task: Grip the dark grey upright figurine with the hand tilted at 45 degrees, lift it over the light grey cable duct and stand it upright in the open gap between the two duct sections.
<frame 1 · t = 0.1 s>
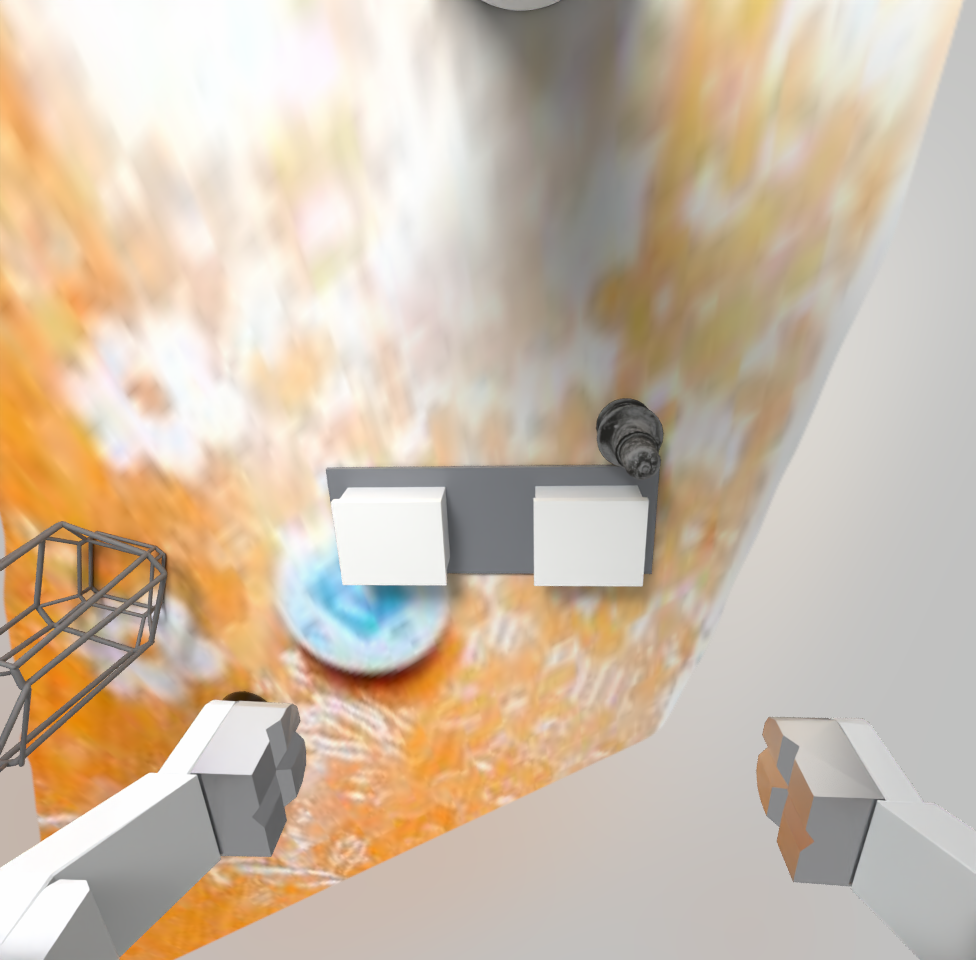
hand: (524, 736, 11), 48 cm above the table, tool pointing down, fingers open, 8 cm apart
dark grey upright figurine: (624, 424, 58), on the table
cable duct: (491, 520, 62), on the table
geometric lantern: (126, 561, 67), on the table
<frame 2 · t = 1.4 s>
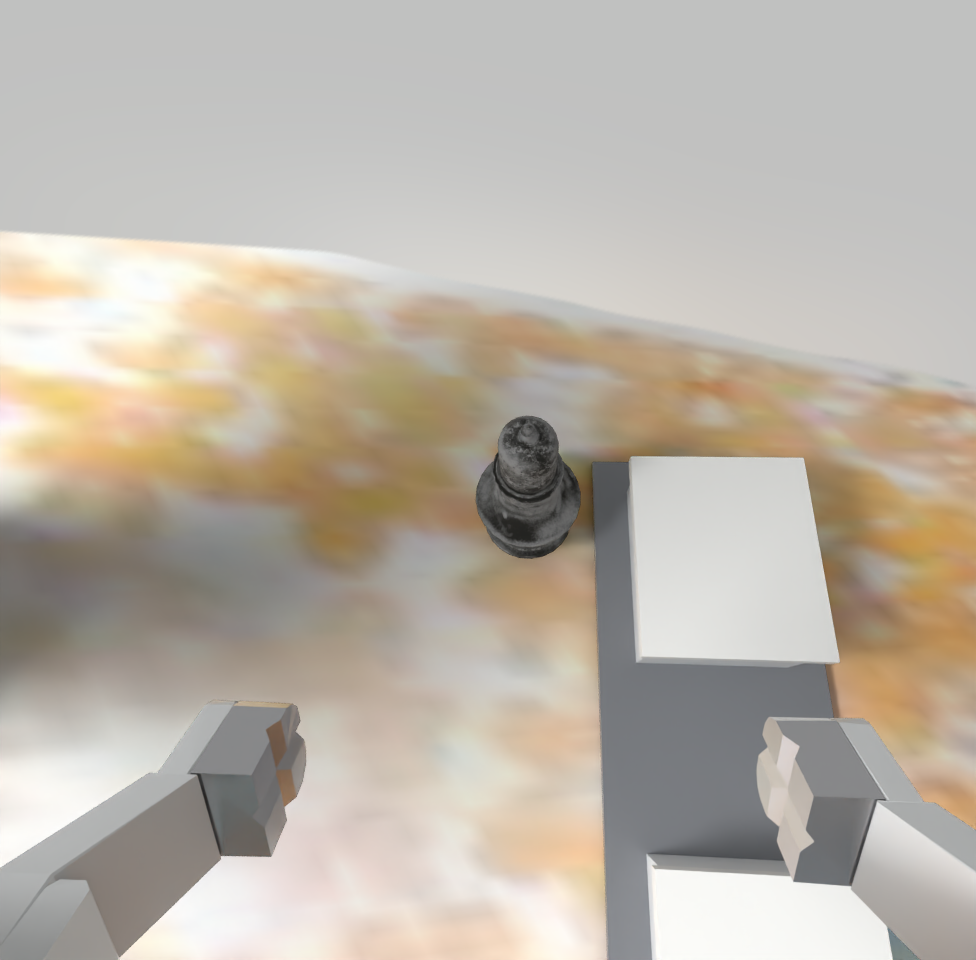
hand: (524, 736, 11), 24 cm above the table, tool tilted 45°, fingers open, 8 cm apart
dark grey upright figurine: (527, 517, 37), on the table
cable duct: (717, 755, 32), on the table
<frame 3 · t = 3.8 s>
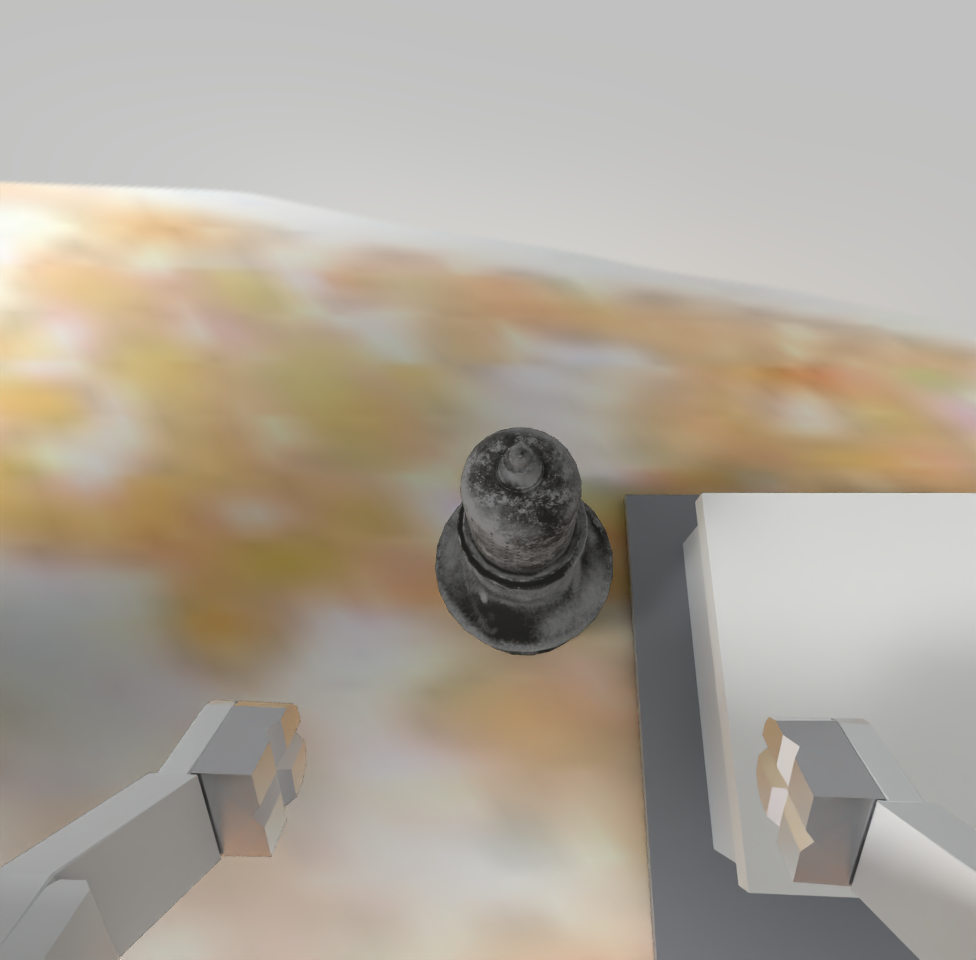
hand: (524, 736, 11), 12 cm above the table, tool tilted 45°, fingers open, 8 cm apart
dark grey upright figurine: (524, 585, 23), on the table
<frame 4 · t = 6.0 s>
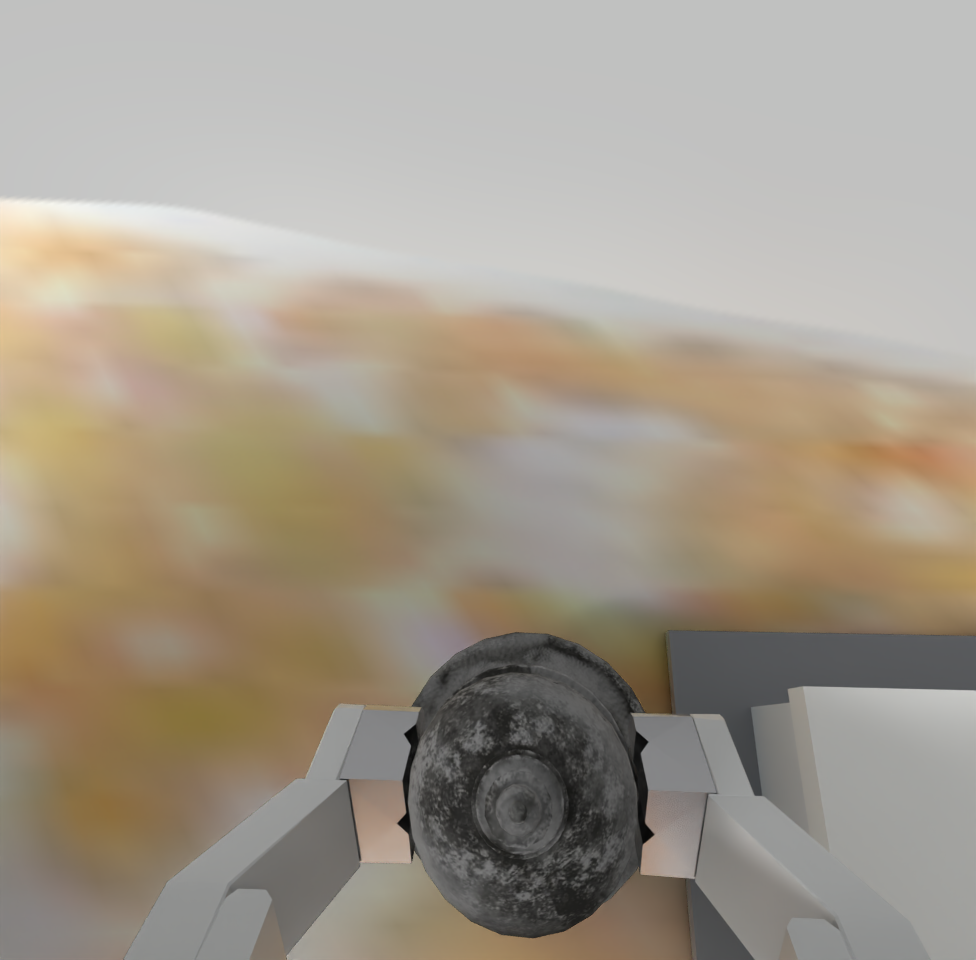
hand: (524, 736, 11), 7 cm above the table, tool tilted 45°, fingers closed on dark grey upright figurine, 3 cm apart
dark grey upright figurine: (528, 760, 17), on the table, touching gripper
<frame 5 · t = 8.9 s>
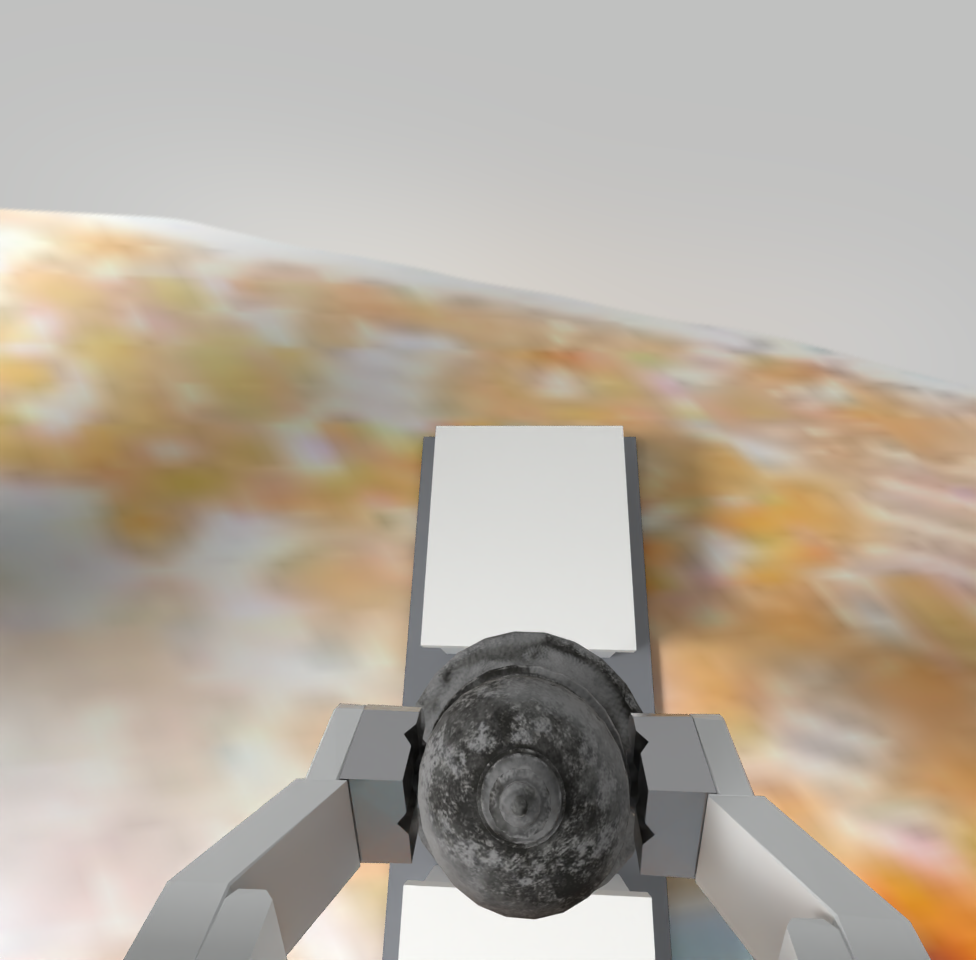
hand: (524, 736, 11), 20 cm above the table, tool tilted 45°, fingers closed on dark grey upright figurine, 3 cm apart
dark grey upright figurine: (528, 752, 18), point 12 cm above the table, touching gripper
cable duct: (526, 755, 29), on the table
when the fingers open (9 cm above the table, at t = 11.8 s): dark grey upright figurine stays where it is, resting on cable duct.
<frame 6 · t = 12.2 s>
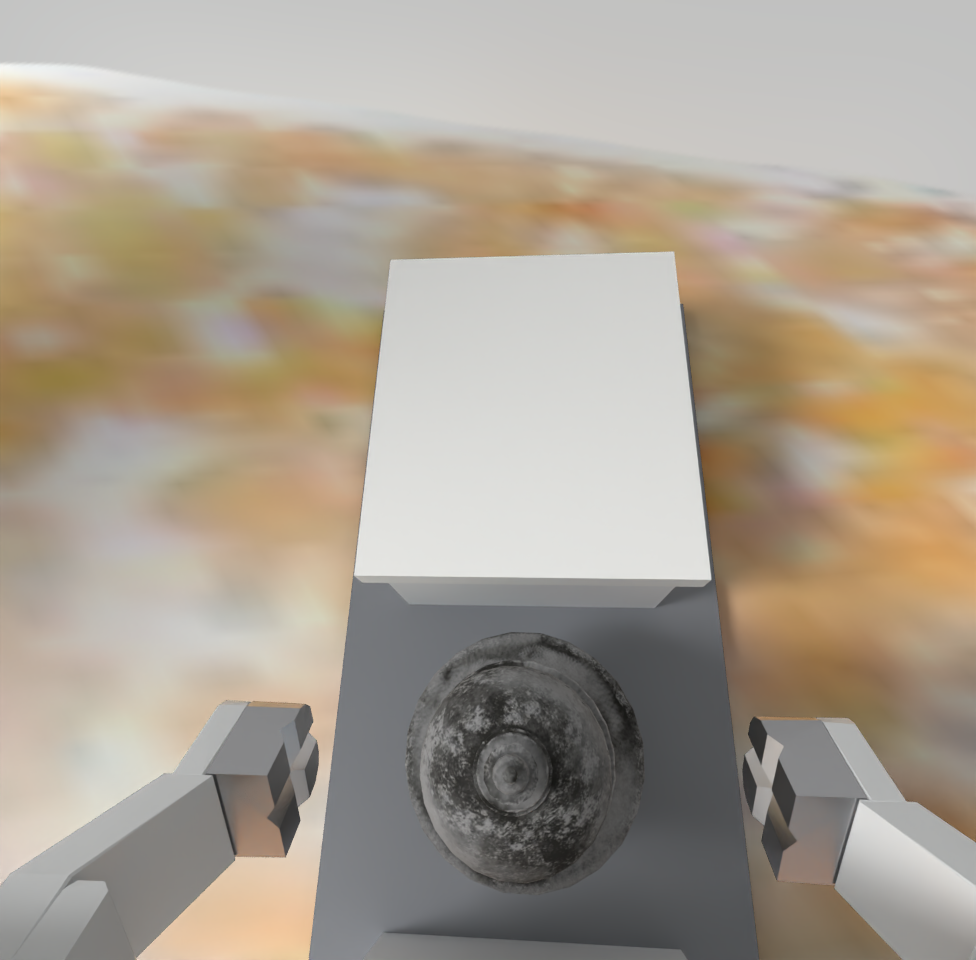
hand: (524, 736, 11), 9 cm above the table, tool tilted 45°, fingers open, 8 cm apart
dark grey upright figurine: (525, 749, 18), resting on cable duct
cable duct: (529, 756, 19), on the table
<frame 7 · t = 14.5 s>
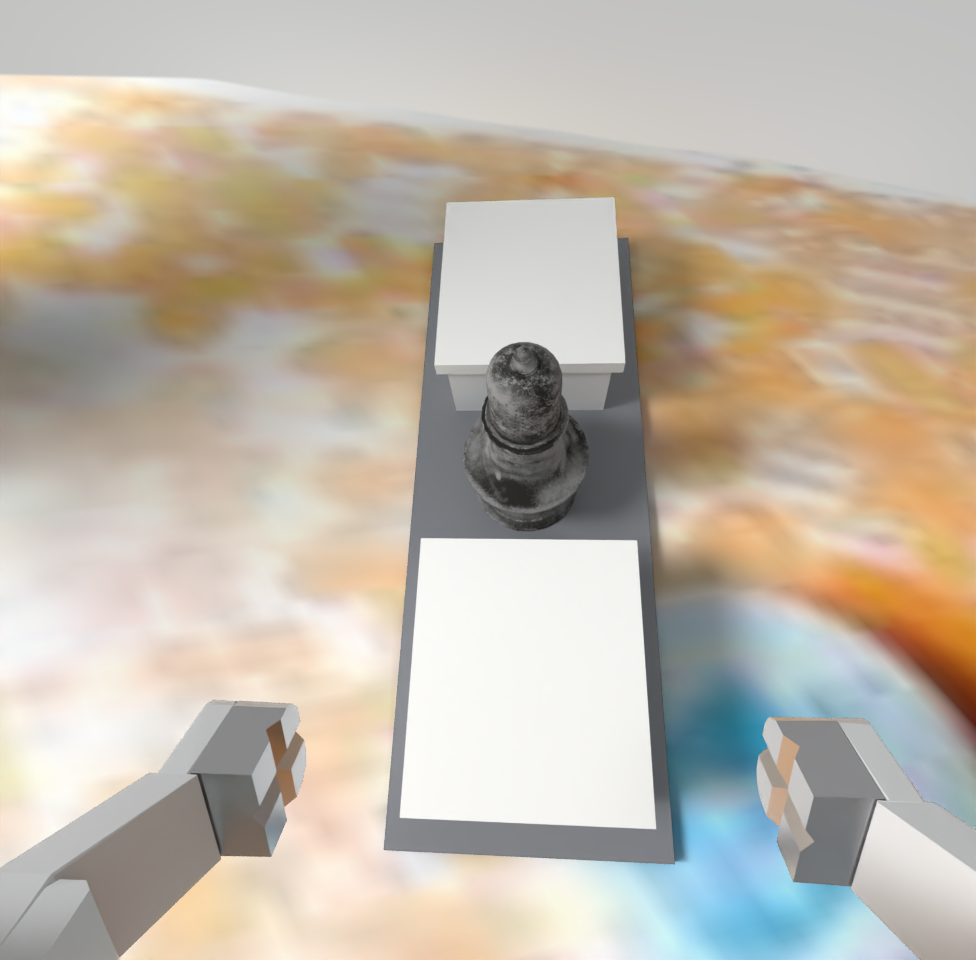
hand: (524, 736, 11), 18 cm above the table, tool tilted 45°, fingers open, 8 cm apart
dark grey upright figurine: (526, 484, 32), resting on cable duct
cable duct: (528, 490, 32), on the table
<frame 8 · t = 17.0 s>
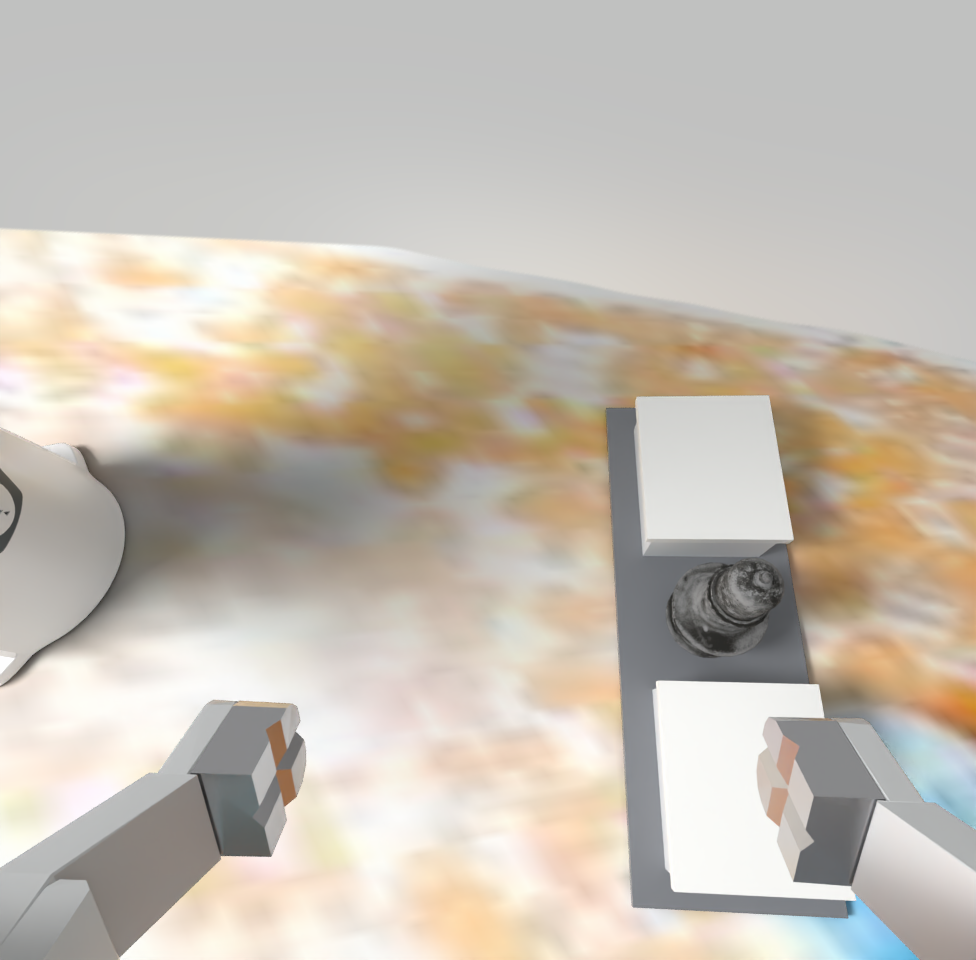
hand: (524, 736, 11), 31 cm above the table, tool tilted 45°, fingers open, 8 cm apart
dark grey upright figurine: (704, 618, 41), resting on cable duct
cable duct: (705, 622, 41), on the table
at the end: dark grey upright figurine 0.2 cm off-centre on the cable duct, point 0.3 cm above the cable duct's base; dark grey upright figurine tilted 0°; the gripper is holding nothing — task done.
